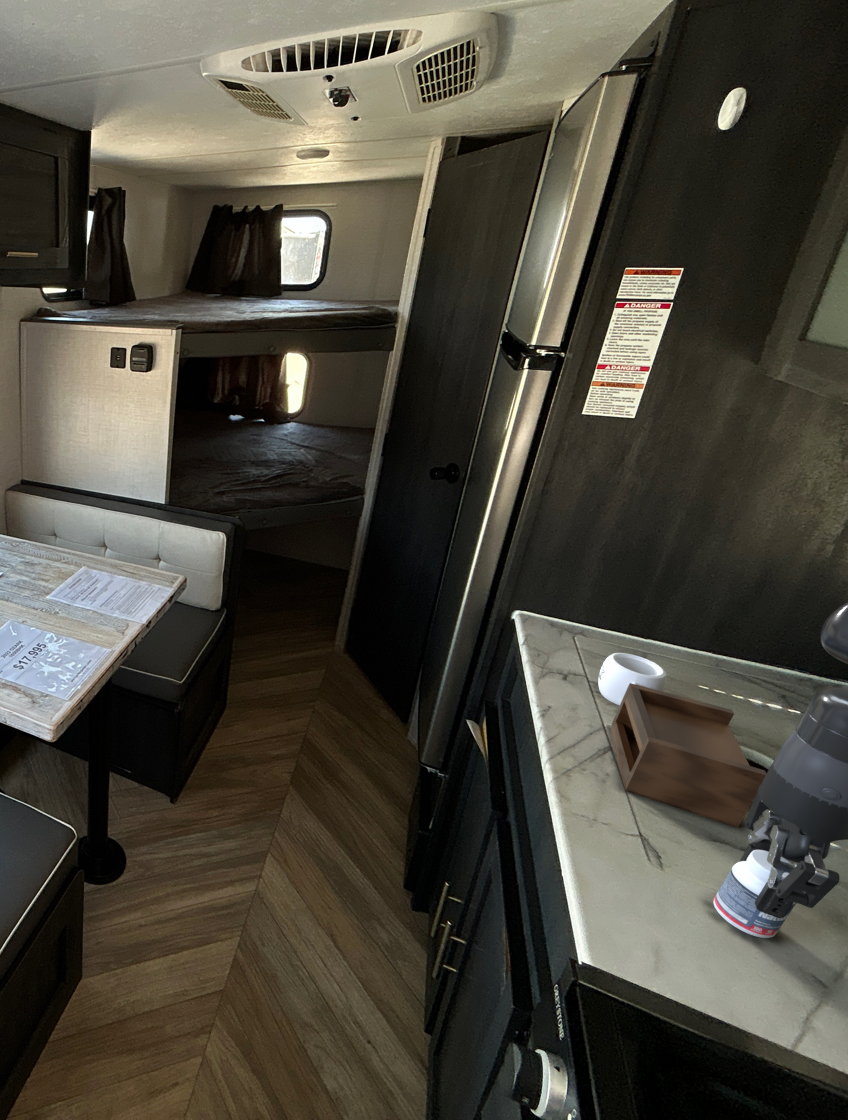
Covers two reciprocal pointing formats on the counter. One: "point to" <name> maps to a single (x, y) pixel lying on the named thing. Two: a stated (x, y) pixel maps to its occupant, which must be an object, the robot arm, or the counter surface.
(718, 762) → the box
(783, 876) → the pill bottle
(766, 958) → the counter surface
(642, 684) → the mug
